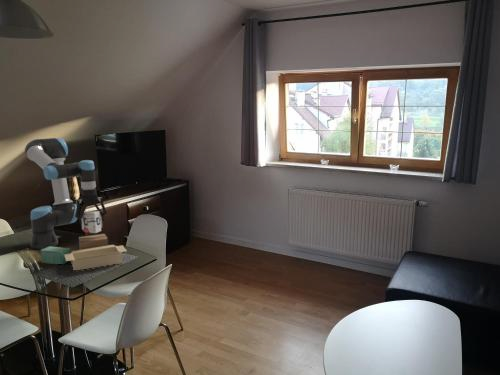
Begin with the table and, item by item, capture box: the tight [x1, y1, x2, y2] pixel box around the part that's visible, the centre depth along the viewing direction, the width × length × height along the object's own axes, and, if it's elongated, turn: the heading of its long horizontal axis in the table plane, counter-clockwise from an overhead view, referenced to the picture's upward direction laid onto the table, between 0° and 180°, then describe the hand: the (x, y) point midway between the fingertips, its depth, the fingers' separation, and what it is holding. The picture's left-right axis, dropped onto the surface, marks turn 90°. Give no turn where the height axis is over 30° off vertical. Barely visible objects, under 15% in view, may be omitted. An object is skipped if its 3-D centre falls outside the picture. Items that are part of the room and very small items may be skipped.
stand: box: [78, 233, 109, 250], centre depth 234 cm, size 10×14×10 cm
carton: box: [64, 244, 128, 270], centre depth 221 cm, size 19×30×8 cm, turn 118°
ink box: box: [82, 209, 102, 234], centre depth 232 cm, size 8×5×12 cm, turn 72°
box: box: [39, 246, 72, 265], centre depth 224 cm, size 7×14×8 cm, turn 75°
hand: (92, 228), depth 232 cm, fingers closed on ink box, 9 cm apart
